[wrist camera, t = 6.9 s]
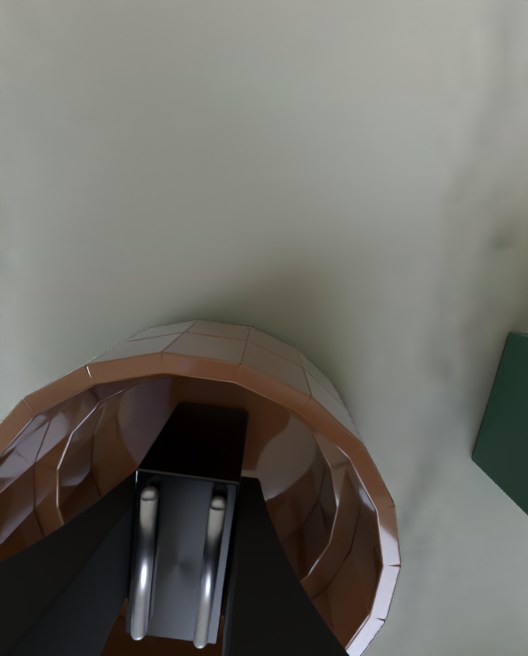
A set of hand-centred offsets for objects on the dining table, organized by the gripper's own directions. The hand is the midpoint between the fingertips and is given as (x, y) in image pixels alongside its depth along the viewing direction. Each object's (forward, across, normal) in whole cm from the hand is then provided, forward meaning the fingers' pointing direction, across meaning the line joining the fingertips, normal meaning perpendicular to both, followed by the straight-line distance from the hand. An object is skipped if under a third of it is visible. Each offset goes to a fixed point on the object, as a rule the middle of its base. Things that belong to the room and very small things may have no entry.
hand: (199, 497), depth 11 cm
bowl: (+2, 0, 0) cm, 2 cm away
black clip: (+1, 0, 0) cm, 1 cm away
